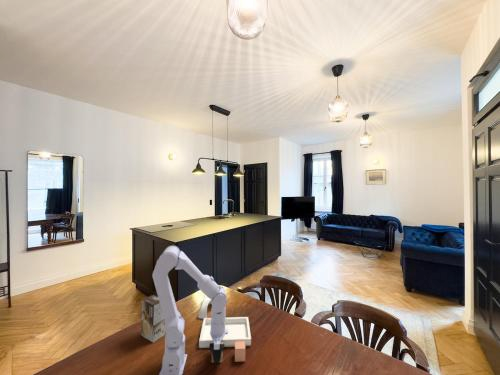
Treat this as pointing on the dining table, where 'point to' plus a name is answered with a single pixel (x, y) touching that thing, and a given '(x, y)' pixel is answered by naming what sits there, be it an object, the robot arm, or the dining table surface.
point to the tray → (236, 332)
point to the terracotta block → (239, 351)
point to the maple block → (221, 354)
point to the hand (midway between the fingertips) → (217, 354)
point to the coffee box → (152, 319)
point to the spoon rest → (204, 308)
